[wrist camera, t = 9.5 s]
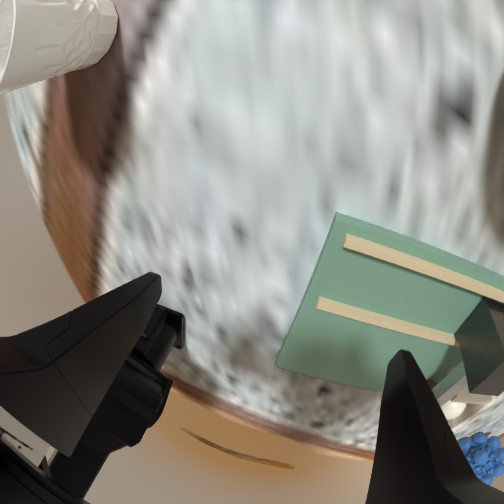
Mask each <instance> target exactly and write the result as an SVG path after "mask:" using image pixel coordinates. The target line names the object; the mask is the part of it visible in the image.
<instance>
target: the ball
mask: <svg viewBox="0 0 504 504" xmlns="http://www.w3.org/2000/svg"><path fill="white" fill-rule="evenodd" d="M466 404H467V403H460V402H451V399H450V400H449V401H448V402H446V403H445V404H444V405H443V406H441V409H442V411H443V413H444V415H445V417H446V419H447V420H450V419H454V418H456V417H458V416H459V415H461V413H462V412H463V411H464V409H465V407H466Z"/></svg>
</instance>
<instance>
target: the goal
mask: <svg viewBox="0 0 504 504" xmlns="http://www.w3.org/2000/svg"><path fill="white" fill-rule="evenodd" d="M454 368H455V367H453V366H452V367H451V368H450V369H449V370H448V371H447V375H448V374H449V373H450V372H451V371H452V370H453V369H454ZM496 401H497V396H491V395H481V394H472V393H469V389H468V385H467V386H466V387H465V388H464V389H462V390H461V391H460V392H459V393H458V394H456V395H455V396H454V397H453V398H451V402H460V403H467V404H466V407H465V409H464V411H463V412H462V413H461V415H459V416H458V417H456V418H454V419H450V420H447V421H448V423H449V425H450V427H451V429H452V432H454V431H455V430H457V429H459V428H460V427H462V426H463V425H465V424H466V423H467V422H469V421H470V420H472V419H473V418H475V417H476V416H477V415H479V414H480V413H482V412H483V411H484V410H486V409H487V408H488V407H490V406H491V405H492V404H493V403H495V402H496Z"/></svg>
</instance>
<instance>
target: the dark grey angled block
mask: <svg viewBox="0 0 504 504" xmlns="http://www.w3.org/2000/svg"><path fill="white" fill-rule="evenodd" d="M456 334H457V338H458V342H459V346H460V350H461V354H462V359H463V361H462V362H461V363H460V364H459V365H458V366H457V367H455V368H454V369H453V370H452V371H451V372H450V373H449V374H448V375H447V376H446V377H445V378H444V379H443V380H442V381H440V382H439V383H436V382H430V381H427V382H428V384H429V386H430V388H431V390H432V391H433V393H434V395H435V397H436V399H437V401H438V403H439V405H440V407H441V406H443V405H444V404H445V403H446V402H448V401H449V400H450V399H451V398H453V397H454V396H455V395H456V394H458V393H459V392H460V391H461V390H462V389H464V388H465V387H466V386H467V385H468V389H469V393H472V394H481V395H491V396H499V395H500V394H501V393H502V392H503V391H504V305H502V304H499V303H496V302H494V301H491V300H488V299H486V298H484V299H483V300H482V302H481V303H480V304H479V306H478V307H477V308H476V309H475V311H474V312H473V313H472V315H471V316H470V317H469V318H468V320H467V321H466V322H465V323H464V325H463V326H462V327H461V328H460V329H459V330H458V332H457V333H456Z"/></svg>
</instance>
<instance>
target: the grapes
mask: <svg viewBox="0 0 504 504" xmlns="http://www.w3.org/2000/svg"><path fill="white" fill-rule="evenodd" d="M500 444H501V441H500V438H499V437H497V436H491V437H490V438H489V439H488V440H487V436H486V435H485V434H484V433H477V434H476V435H475V436H474V437H473V441H472V440H471V439H469V438H465V439H463V440H461V441H460V443H459V445H460V447H461V449H462V451H463V453H464V455H465V456H466V458H467V460H468V462H469V464H470V466H471V467H472V469H473V471H474V473H475V474H476V476H477V477H478V478H479V479H480V480H481V481H482V482H484V483H486V484H488V485H491V483H492V482H493V476H494V477H498V476H501V475H502V474H503V473H504V464H503V463H502V462H503V461H504V448H503V447H502V448H499V447H500Z"/></svg>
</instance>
